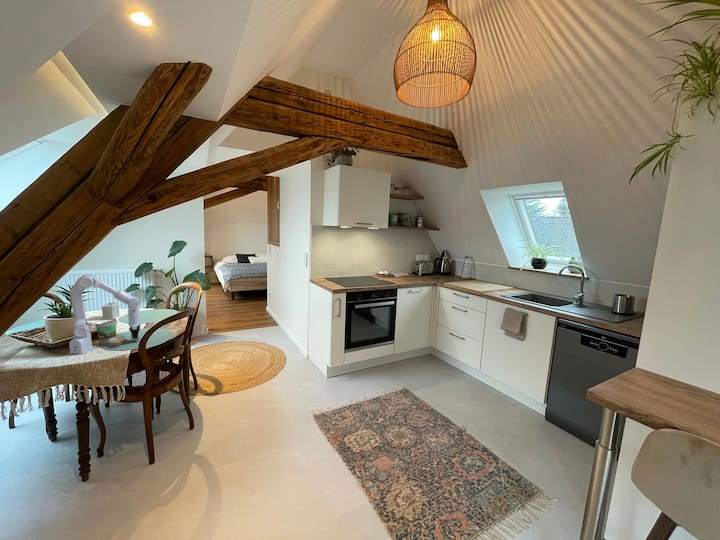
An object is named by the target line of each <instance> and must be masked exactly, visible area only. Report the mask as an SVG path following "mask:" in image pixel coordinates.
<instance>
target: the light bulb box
mask: <svg viewBox="0 0 720 540" xmlns="http://www.w3.org/2000/svg"><path fill="white" fill-rule="evenodd" d="M101 313H102V321H112V320H114V319H117V318H119V316H120V315H121V314H120V305H119V302H108V303H106V304H105V305H103V306H101Z"/></svg>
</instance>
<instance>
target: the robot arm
mask: <svg viewBox="0 0 720 540" xmlns="http://www.w3.org/2000/svg"><path fill="white" fill-rule="evenodd" d="M91 287H92V288H98V289H99V288H100V289H102V290H104V291H105V292H107V293H110V294H112V295H113V298H114V299H115V300H117V301H120V302H121V303H123V304H127V308H128V309H127V318H128V326H129V328H128V330H129V331H130V334H131V333H132V336H133V339H136V338H138V333H139V332H140V330H141V325H142V324H143V321H141V315H140V313H141V312H140V302H139V301H140V300H139V298H138V297H137V296H134V295H133V294H132V295H131V294H130V293H128V292H127V290H123V289H120V290H119V289H116V288H115V287H114V286H112V285H110V284H108V283H107V282H106V281H104V280H102V279H100V278H98V277H96V276H95V277H94V275H92V274H87V273H86V274H84V275H82V276H80V277H79V278H78V279H77V280H76V282H75V283H74V284H73V285H72V287H71V288H70V289H69V294H70V295H69V296H70V300H71V301H70V302H71V307H72V312H73V319H74V329H73V331H72V333H73V338H72V339H71V340H70V341H69V345H68V346H69V352H68V355H74V354H75V355H76V354H79V355H81V354H82V355H83V354H86V353H88V352H90V351H92V350H93V349H96V348H97V346H95V345H94V346H93V343H92V333H91V332H90V331H89V330H90V328H91V325H90V324H89V323H88V321H87V317H86V311H85V306H84V300H83V299H84V298H83V294H82V293H83V292H84V291H85V290H86V289H89V288H91Z"/></svg>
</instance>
